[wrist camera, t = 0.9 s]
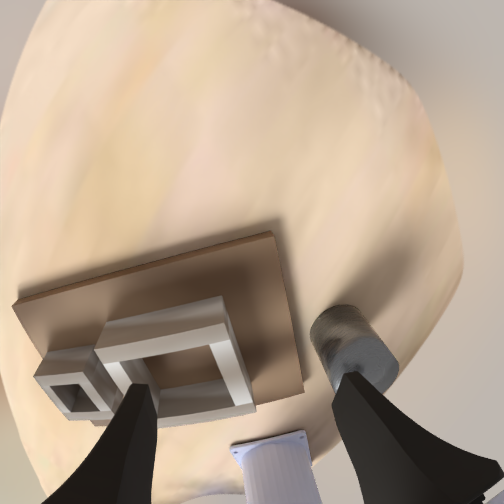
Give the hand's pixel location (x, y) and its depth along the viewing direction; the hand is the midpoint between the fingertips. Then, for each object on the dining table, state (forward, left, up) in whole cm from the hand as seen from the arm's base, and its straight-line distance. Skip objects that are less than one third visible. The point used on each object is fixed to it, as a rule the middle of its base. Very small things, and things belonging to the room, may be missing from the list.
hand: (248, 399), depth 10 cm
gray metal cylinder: (-6, -7, -10) cm, 14 cm away
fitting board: (-4, +7, -10) cm, 13 cm away
